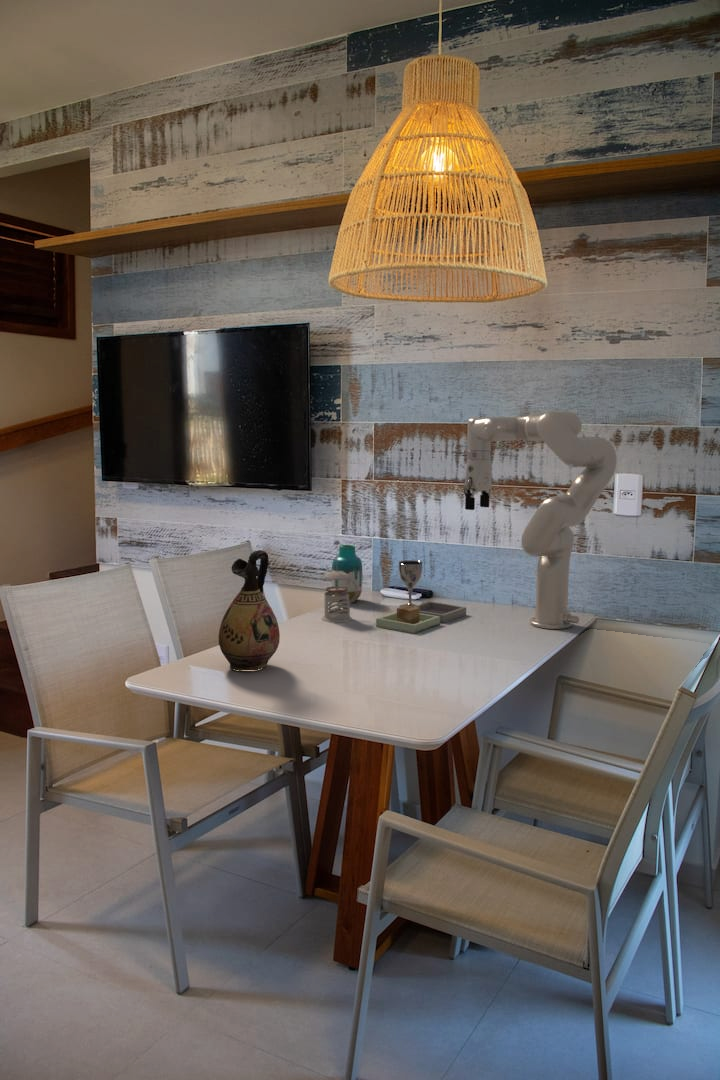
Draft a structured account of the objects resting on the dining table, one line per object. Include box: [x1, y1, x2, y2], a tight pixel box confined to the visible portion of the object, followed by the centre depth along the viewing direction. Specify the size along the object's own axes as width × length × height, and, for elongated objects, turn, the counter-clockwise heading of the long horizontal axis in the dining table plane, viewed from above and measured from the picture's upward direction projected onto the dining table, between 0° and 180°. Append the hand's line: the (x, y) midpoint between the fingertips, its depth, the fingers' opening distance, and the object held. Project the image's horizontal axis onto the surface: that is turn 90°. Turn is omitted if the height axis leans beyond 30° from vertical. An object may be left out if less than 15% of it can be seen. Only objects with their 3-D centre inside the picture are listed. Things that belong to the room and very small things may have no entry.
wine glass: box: [398, 559, 423, 608], centre depth 290 cm, size 8×8×15 cm
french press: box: [321, 540, 358, 624], centre depth 272 cm, size 10×12×25 cm
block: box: [396, 605, 420, 624], centre depth 265 cm, size 5×5×5 cm
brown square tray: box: [414, 601, 467, 624], centre depth 278 cm, size 14×14×2 cm
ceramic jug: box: [218, 549, 281, 671], centre depth 221 cm, size 17×15×30 cm
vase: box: [331, 544, 364, 602], centre depth 298 cm, size 11×11×19 cm
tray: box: [375, 611, 441, 635], centre depth 265 cm, size 14×14×2 cm
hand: (477, 508), depth 285 cm, fingers open, 9 cm apart
